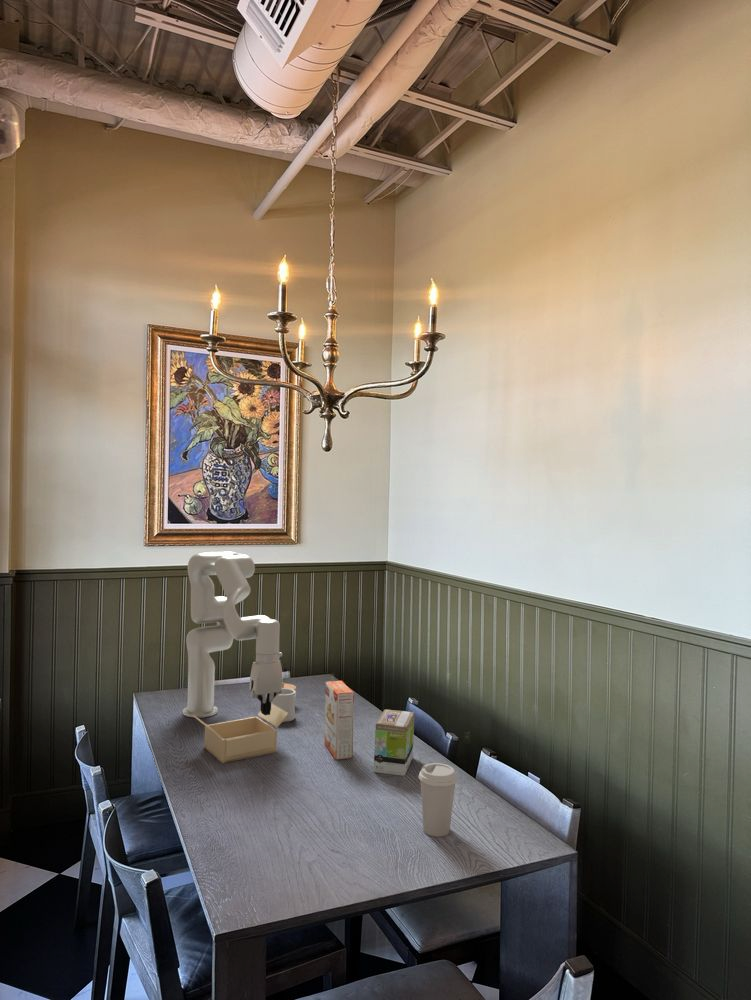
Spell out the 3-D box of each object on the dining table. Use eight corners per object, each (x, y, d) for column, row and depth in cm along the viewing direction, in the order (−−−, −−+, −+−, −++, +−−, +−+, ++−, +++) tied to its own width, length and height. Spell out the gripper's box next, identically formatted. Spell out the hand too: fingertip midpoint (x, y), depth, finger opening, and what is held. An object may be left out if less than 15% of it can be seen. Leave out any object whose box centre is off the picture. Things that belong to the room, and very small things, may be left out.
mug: (297, 715, 248) (298, 688, 248) (292, 723, 239) (293, 695, 239) (265, 713, 250) (265, 686, 250) (258, 721, 241) (259, 693, 241)
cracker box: (323, 744, 220) (324, 680, 220) (340, 742, 222) (342, 679, 222) (334, 760, 207) (336, 693, 207) (353, 758, 209) (355, 691, 209)
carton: (203, 746, 215) (204, 725, 215) (255, 736, 225) (256, 716, 225) (223, 763, 202) (223, 740, 202) (277, 752, 212) (277, 730, 212)
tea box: (406, 776, 197) (407, 726, 197) (372, 773, 199) (374, 723, 199) (413, 757, 211) (414, 710, 211) (382, 754, 213) (383, 707, 213)
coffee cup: (431, 817, 172) (433, 758, 172) (463, 829, 166) (465, 769, 166) (409, 830, 165) (411, 769, 164) (441, 844, 158) (443, 780, 158)
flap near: (205, 723, 214) (204, 724, 214) (193, 714, 212) (192, 715, 212) (222, 737, 203) (221, 738, 203) (209, 727, 200) (208, 728, 200)
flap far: (276, 726, 213) (277, 727, 213) (288, 713, 215) (288, 713, 215) (257, 714, 224) (258, 715, 225) (268, 701, 227) (269, 702, 227)
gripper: (282, 652, 226) (280, 707, 226) (241, 658, 217) (239, 714, 217) (293, 657, 220) (291, 713, 220) (251, 663, 211) (249, 721, 211)
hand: (265, 713), depth 219 cm, fingers closed
